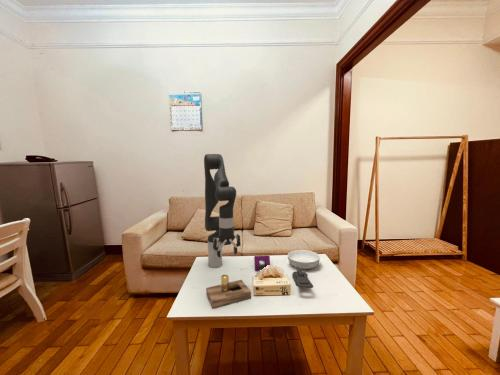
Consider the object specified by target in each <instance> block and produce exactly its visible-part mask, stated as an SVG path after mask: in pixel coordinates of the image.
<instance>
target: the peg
mask: <svg viewBox="0 0 500 375" xmlns="http://www.w3.org/2000/svg"><path fill="white" fill-rule="evenodd" d="M229 277H230V276H229V274H222V275H221V276H220V278H221V279H220V285H221V287H222V289H223V292H227V289H228V288H229V282H230V281H229V280H230V279H229Z"/></svg>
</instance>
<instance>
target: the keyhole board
mask: <svg viewBox="0 0 500 375" xmlns="http://www.w3.org/2000/svg"><path fill="white" fill-rule="evenodd" d="M205 291H206V292H205V293H206V294H205V295H206V297H207V299H208V301H209V303H210V306H211V308H212V309H213V310H214V309H218V308H220V307H223V306H228V305H231V304H235V303H239V302H243V301H246V300H249V299H252V291H251V290H250V288H249V287H248V286H247V284H245V282H244V281H243V280H242V279H239V280H234V281H229V288H228V289H227V292H223V289H222V287H221V284H217V285H213V286H209V287H206V288H205Z"/></svg>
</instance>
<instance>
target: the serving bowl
mask: <svg viewBox="0 0 500 375" xmlns="http://www.w3.org/2000/svg"><path fill="white" fill-rule="evenodd" d="M287 259H288V261H289V263H290V264H291V265H292V266H293V267H295V268H297V269H298V268H302V270H303V269H307V270H308V269H313V268H315V267H316V266H317V265H318V264H319V262H320V259H321V257H320V255H319V253H317V252H316V251H311V250H307V249H297V250H296V249H295V250H291V251H290V252H289V251H288V253H287Z"/></svg>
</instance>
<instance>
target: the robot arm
mask: <svg viewBox="0 0 500 375" xmlns="http://www.w3.org/2000/svg"><path fill="white" fill-rule="evenodd" d="M203 163H204V164H203V165H204V166H203V168H204V181H205V182H204V202H205V203H204V204H205V205H204V206H205V208H204V209H205V210H204V211H205V212H204V214H205V215H204V229H205V230H206V232H213V233H211V234H209V235H208V236H207V256H208V257H207V258H208V266H209V267H210V268H213V269H215V268H220V267H222V266H223V247H224V246H231V245H233V254H234V256H236V255H237V253H238V248H239V247H241V244H242V243H241V236H240V234H238V233H236V234H235V220H234V207H235V201H236V198H237V190H236V188H235V186H230V181H229V179H228V177H227V175H226V174H227V173H226V167H225V163H224V158H223V156H222V154H220V153H207V154H205V155H204V157H203ZM211 170H216V172H215V173H214V176H212V173H211ZM225 201H227V203H225V204H222V205H220V206H219V208H218V209H219V210H218V211H219V212H218V214H219V216H218V215H217V216H212V213H213V211H214V209H215V208H216V207H217V205H218V204H219V202H225ZM214 231H215V232H214ZM235 239H236V243H235V242H234V240H235Z"/></svg>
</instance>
